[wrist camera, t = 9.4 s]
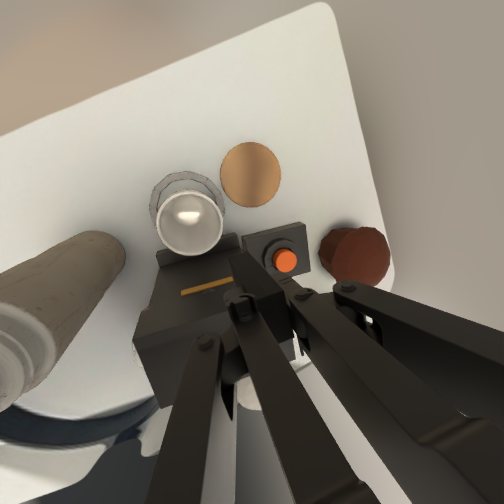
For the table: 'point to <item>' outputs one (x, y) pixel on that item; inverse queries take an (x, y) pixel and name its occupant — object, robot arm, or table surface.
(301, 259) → the power switch
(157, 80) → the table surface
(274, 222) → the table surface
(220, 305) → the coffee maker
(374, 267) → the muffin
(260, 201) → the disc
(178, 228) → the drinking glass
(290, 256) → the power button
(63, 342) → the thermos bottle
